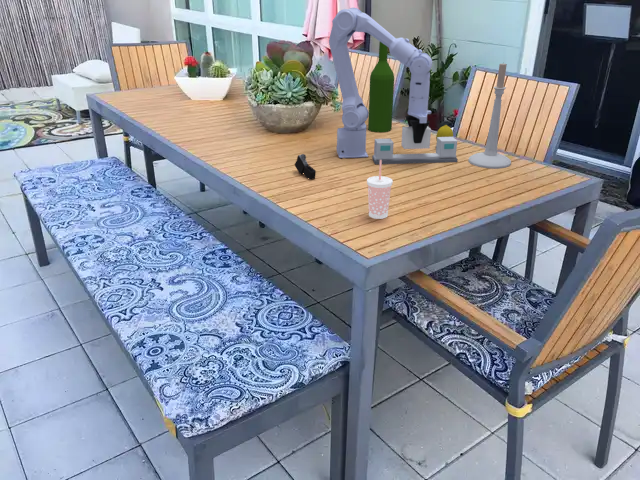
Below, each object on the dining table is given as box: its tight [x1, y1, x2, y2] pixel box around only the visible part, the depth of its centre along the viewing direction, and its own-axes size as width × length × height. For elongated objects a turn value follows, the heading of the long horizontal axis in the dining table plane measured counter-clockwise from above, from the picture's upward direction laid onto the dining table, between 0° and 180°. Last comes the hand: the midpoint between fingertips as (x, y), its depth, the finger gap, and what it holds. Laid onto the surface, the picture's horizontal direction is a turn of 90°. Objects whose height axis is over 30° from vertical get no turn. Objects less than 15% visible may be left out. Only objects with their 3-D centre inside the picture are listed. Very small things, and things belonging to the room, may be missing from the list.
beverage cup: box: [366, 160, 394, 220], centre depth 127 cm, size 6×6×14 cm
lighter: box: [294, 153, 317, 180], centre depth 156 cm, size 9×2×6 cm
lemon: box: [435, 124, 454, 141], centre depth 179 cm, size 6×6×8 cm
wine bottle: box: [367, 41, 395, 133], centre depth 197 cm, size 9×9×32 cm
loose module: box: [401, 125, 432, 150], centre depth 166 cm, size 4×8×6 cm, turn 95°
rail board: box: [371, 136, 458, 165], centre depth 168 cm, size 26×6×7 cm, turn 94°
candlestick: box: [468, 63, 512, 170], centre depth 161 cm, size 13×13×30 cm
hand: (415, 140), depth 166 cm, fingers closed on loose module, 4 cm apart
